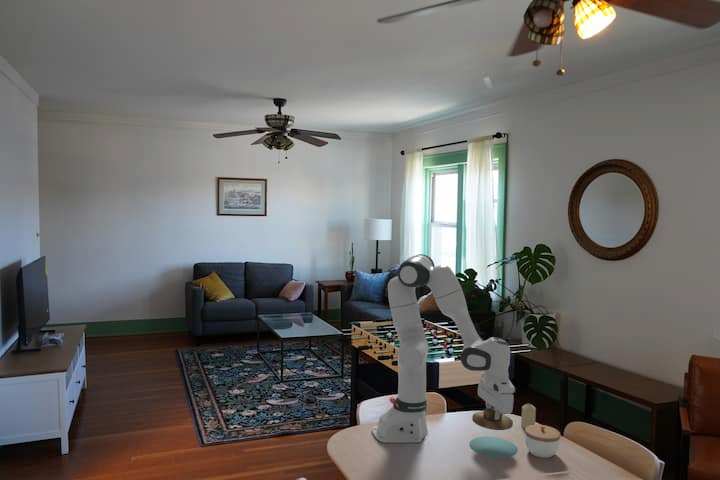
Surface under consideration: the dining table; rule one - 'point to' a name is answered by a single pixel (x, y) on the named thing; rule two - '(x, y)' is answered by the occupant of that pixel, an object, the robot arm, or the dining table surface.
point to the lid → (492, 420)
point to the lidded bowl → (542, 440)
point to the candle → (528, 415)
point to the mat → (493, 447)
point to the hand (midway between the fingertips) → (492, 416)
